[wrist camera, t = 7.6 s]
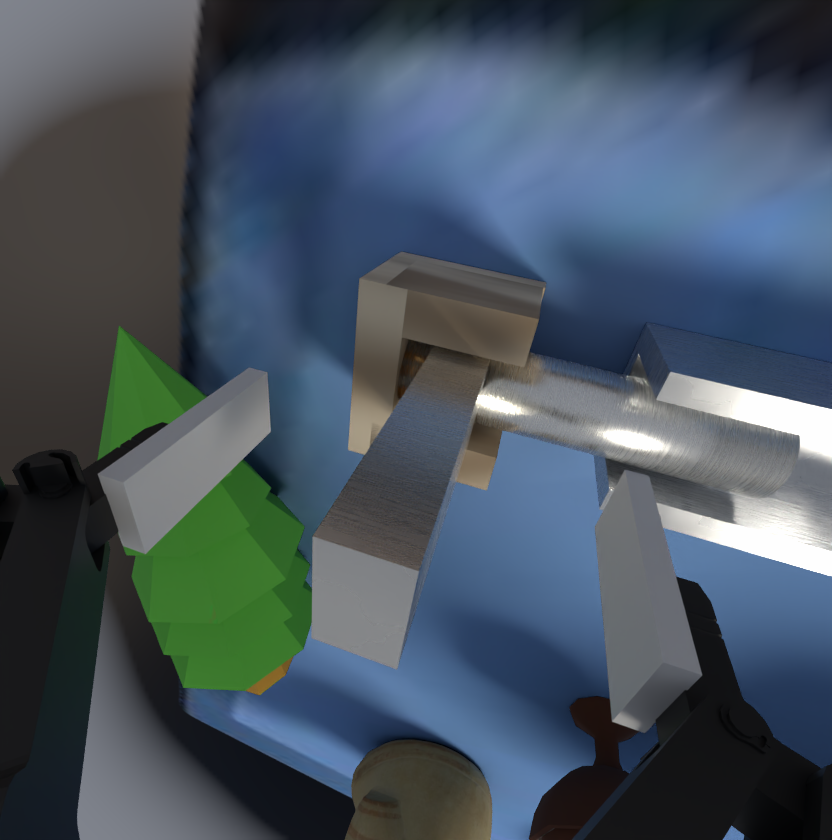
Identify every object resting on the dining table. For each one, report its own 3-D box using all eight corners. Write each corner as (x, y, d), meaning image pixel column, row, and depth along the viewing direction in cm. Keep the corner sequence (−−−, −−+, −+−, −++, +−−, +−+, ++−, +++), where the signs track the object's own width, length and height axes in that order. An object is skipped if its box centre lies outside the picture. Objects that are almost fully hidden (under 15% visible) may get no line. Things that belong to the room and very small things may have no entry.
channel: (874, 517, 22) (954, 611, 18) (592, 442, 24) (599, 509, 20) (994, 399, 18) (1137, 481, 14) (646, 322, 20) (670, 371, 16)
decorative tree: (163, 700, 35) (-80, 354, 19) (264, 588, 44) (152, 284, 28) (271, 774, 31) (70, 401, 15) (360, 633, 39) (293, 300, 23)
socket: (501, 430, 25) (488, 491, 21) (384, 398, 27) (348, 449, 22) (546, 282, 21) (541, 320, 16) (401, 251, 22) (359, 278, 17)
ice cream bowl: (511, 687, 38) (488, 941, 26) (638, 667, 33) (684, 980, 20) (577, 754, 41) (584, 1013, 29) (705, 746, 35) (781, 1066, 23)
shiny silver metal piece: (727, 465, 21) (939, 868, 9) (415, 383, 24) (267, 621, 12) (776, 395, 19) (1133, 806, 7) (426, 312, 22) (258, 518, 10)
